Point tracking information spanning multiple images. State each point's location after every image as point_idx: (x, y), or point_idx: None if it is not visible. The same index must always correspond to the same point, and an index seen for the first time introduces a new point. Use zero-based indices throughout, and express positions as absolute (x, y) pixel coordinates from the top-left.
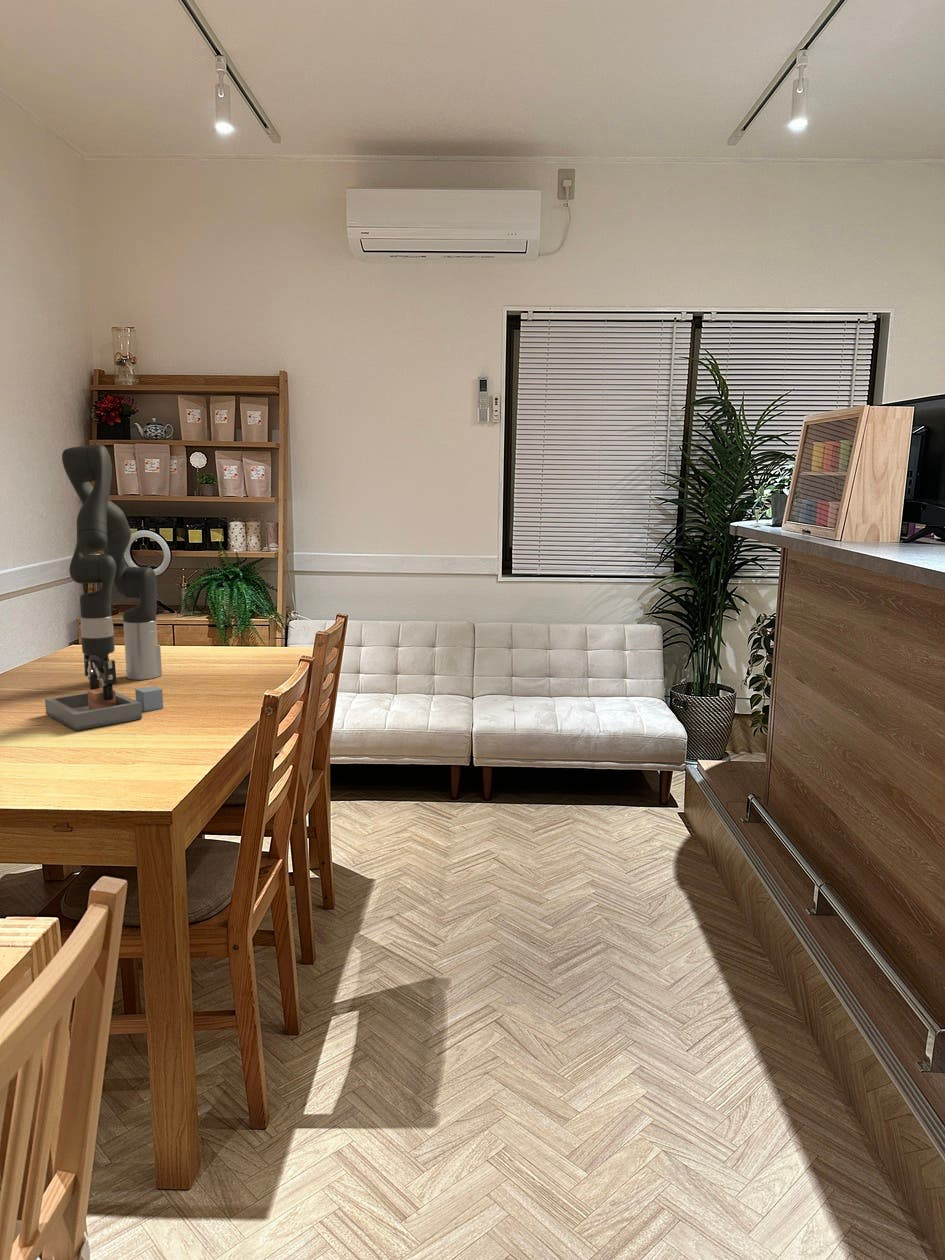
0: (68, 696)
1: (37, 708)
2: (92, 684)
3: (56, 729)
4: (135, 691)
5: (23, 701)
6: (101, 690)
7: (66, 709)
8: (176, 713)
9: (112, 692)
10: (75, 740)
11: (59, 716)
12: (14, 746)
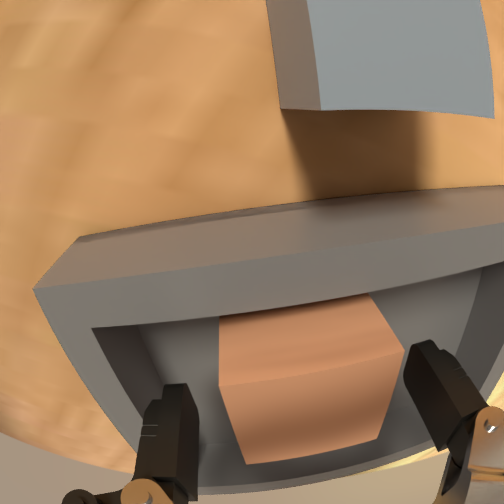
0: None
1: (80, 435)
2: (194, 469)
3: None
4: (316, 109)
5: (3, 422)
6: (314, 421)
7: (395, 460)
8: (498, 21)
9: (451, 370)
10: None
11: None
12: (419, 458)
